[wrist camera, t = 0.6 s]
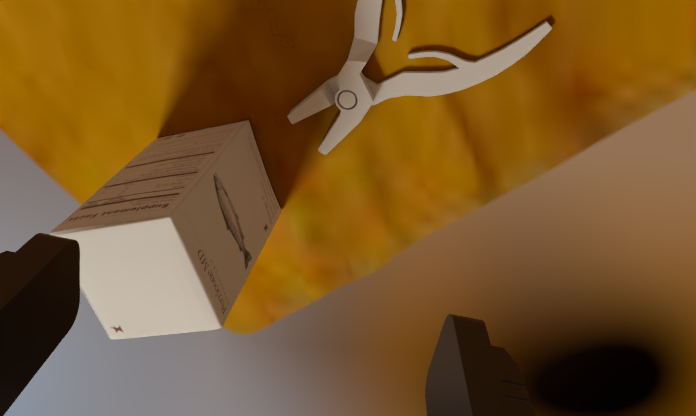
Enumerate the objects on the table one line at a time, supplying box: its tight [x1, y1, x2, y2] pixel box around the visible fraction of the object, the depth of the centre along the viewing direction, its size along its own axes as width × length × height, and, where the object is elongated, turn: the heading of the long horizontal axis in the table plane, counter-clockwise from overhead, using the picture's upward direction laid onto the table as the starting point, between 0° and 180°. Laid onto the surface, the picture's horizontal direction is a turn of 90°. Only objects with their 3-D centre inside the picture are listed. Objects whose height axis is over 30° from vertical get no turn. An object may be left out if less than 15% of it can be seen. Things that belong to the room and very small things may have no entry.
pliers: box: [287, 0, 552, 155], centre depth 34 cm, size 10×2×15 cm
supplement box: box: [50, 120, 281, 340], centre depth 35 cm, size 7×7×13 cm
